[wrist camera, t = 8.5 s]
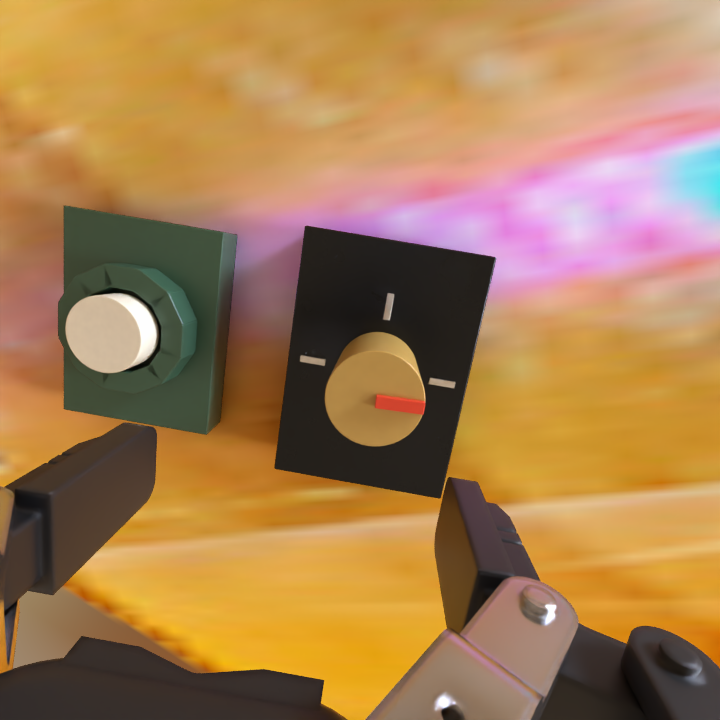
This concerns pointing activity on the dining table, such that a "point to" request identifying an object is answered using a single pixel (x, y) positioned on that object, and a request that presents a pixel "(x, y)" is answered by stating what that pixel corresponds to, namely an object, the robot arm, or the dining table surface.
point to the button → (111, 332)
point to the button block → (168, 304)
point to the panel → (388, 315)
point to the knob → (375, 390)
